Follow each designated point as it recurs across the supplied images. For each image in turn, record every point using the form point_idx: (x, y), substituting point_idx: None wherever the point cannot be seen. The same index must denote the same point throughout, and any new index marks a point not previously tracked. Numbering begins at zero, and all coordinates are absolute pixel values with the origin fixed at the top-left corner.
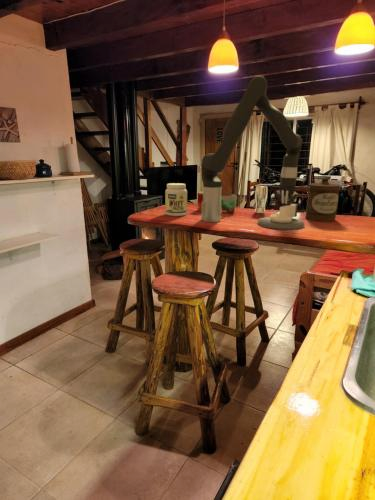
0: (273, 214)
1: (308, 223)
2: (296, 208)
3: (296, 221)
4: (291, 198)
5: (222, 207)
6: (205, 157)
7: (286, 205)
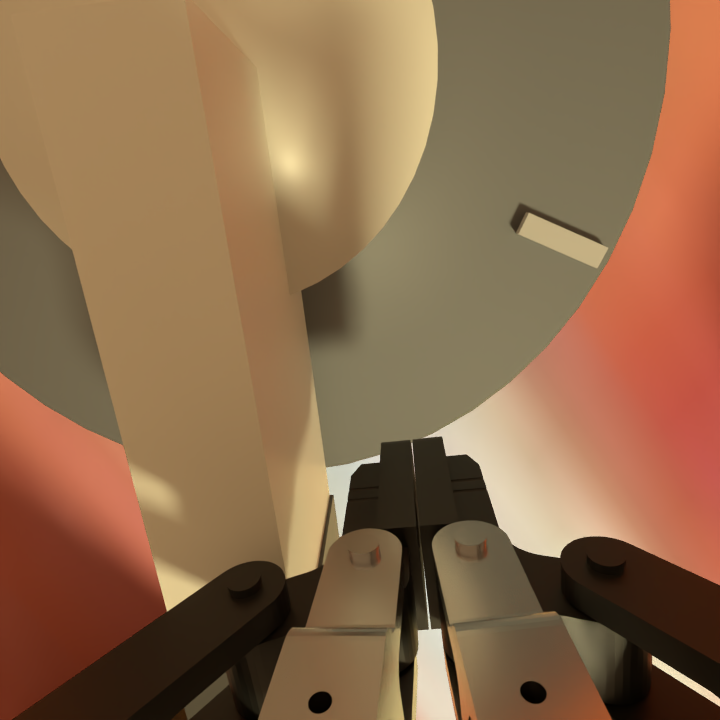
0: (419, 68)
1: (82, 500)
2: None
3: (90, 322)
4: (122, 709)
5: None
6: None
7: (259, 420)
